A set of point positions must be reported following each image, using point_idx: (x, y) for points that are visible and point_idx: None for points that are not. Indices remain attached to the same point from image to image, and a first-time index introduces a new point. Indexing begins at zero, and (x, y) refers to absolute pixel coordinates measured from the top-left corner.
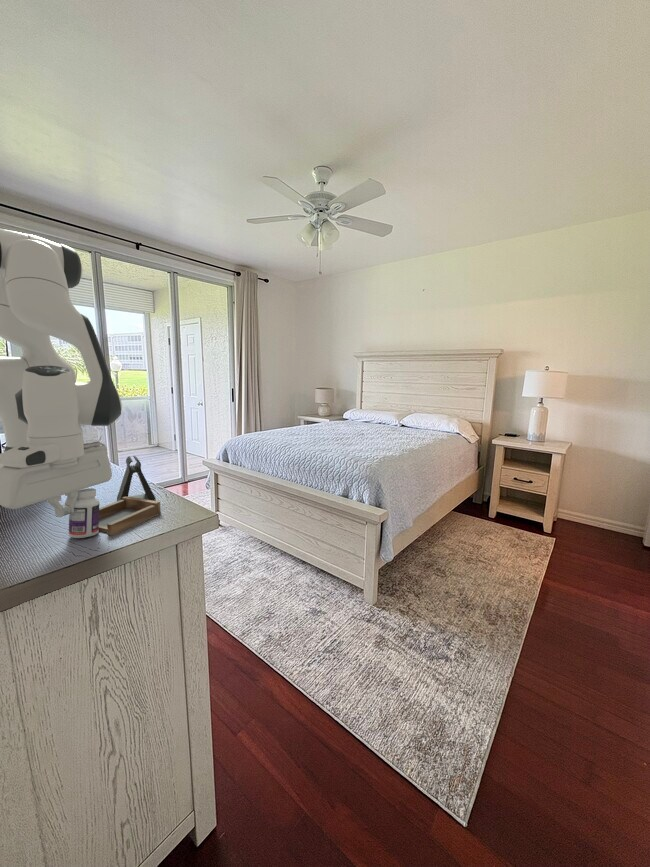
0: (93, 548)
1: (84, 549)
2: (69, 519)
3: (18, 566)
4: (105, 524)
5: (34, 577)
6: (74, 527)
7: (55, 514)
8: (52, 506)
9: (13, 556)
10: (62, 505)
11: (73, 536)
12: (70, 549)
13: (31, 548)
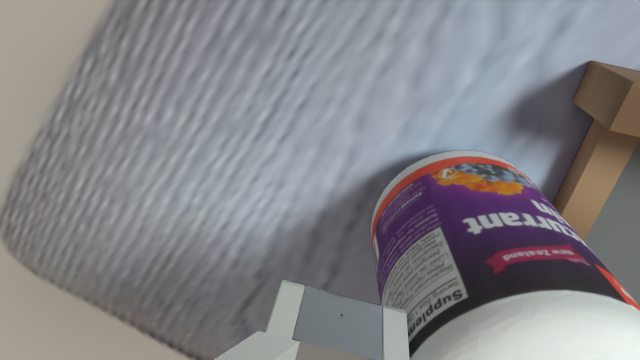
0: None
1: None
2: (405, 251)
3: (81, 149)
4: (619, 249)
5: (57, 284)
6: (377, 268)
7: (282, 282)
8: (240, 343)
9: (136, 17)
10: (346, 356)
11: (371, 226)
12: (284, 256)
13: (243, 31)
